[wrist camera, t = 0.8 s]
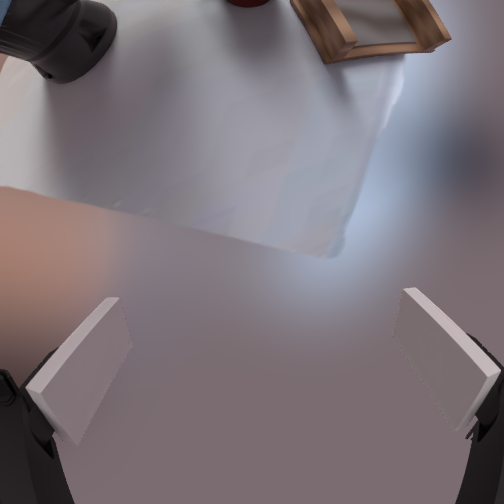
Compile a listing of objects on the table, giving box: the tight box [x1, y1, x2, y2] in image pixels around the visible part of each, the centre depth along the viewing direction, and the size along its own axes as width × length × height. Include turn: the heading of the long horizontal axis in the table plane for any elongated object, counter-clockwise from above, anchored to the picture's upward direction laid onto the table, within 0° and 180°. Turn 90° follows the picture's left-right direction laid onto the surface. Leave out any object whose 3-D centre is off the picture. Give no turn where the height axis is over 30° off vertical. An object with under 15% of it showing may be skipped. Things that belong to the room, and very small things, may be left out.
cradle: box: [290, 0, 451, 64], centre depth 23 cm, size 12×20×7 cm, turn 111°
